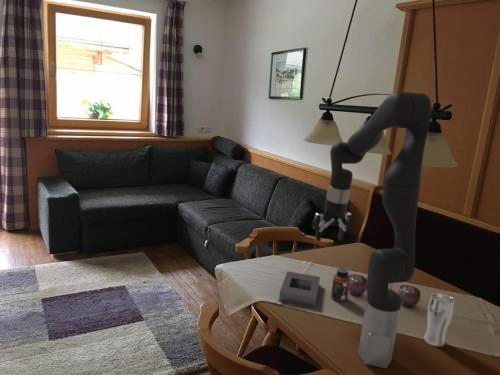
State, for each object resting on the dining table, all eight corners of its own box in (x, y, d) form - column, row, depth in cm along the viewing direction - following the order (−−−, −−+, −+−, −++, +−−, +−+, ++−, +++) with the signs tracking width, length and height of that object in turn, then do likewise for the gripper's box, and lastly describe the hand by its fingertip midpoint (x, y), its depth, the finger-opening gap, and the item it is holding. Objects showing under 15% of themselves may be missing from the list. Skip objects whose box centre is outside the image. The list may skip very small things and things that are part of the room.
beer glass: (444, 350, 124) (453, 306, 121) (420, 342, 128) (428, 298, 124) (447, 339, 130) (456, 297, 126) (424, 331, 133) (432, 290, 130)
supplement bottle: (347, 303, 148) (351, 274, 145) (330, 300, 149) (334, 272, 146) (347, 295, 154) (351, 268, 151) (331, 293, 155) (334, 265, 152)
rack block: (315, 307, 143) (316, 298, 143) (278, 300, 146) (279, 291, 145) (319, 285, 160) (320, 276, 160) (286, 279, 163) (287, 271, 162)
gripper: (323, 203, 136) (315, 245, 141) (361, 202, 140) (351, 244, 145) (314, 194, 142) (306, 235, 148) (350, 194, 146) (341, 234, 152)
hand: (328, 239), depth 147 cm, fingers open, 8 cm apart
